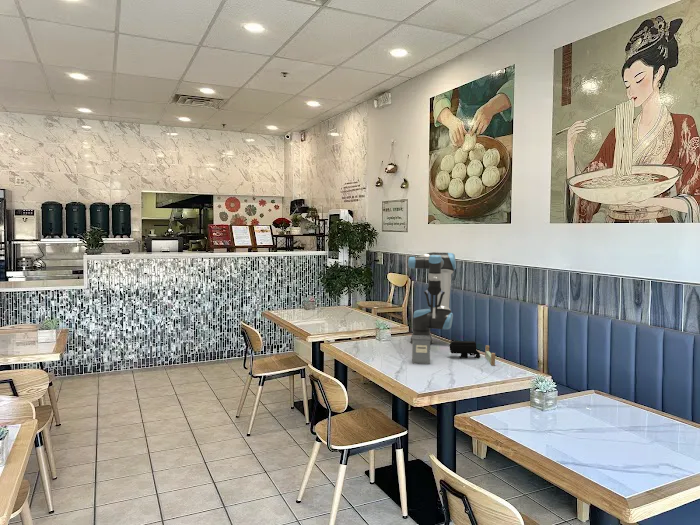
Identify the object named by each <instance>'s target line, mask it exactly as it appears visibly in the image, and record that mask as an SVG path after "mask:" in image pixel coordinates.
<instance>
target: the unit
mask: <svg viewBox="0 0 700 525" xmlns="http://www.w3.org/2000/svg"><path fill="white" fill-rule="evenodd" d="M411 336H412V340H413V341H412V343H411V344H412V349H411V351H412V353H411V360H412V364H413V365H414V364H415V365H416V364H417V365H420V364H421V365H430V363H431V344H430V341H431V338H430V336H425V335H412V334H411Z"/></svg>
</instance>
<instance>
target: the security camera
mask: <svg viewBox="0 0 700 525" xmlns="http://www.w3.org/2000/svg"><path fill="white" fill-rule="evenodd" d="M449 351H450V353H451V354H457V355H458V354H460V355H459V358H460V359H468V358H469V356H470V357H471V356H472V357H473V356H474V359H480V358H481V353H480V352H479V351H478V350H477V342H476V341H475V340H474V341H473V340H471V341H470V340H469V341H468V340H450V344H449Z"/></svg>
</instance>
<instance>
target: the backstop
mask: <svg viewBox="0 0 700 525" xmlns="http://www.w3.org/2000/svg"><path fill="white" fill-rule="evenodd" d="M484 348H485V350H484V351H485V352H484V357H485V359H486V360H487V362H488V364H490V366H493V367H494V366H496V352H490V345H485V347H484Z"/></svg>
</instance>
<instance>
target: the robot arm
mask: <svg viewBox="0 0 700 525" xmlns="http://www.w3.org/2000/svg"><path fill="white" fill-rule="evenodd" d="M407 261H408V262H407V266H408V268H409V269H414V270H415V269H417V270H420V269H421V270H422V269H423V270H428V281H427V282H428V286H427V289H426V290H424V291H423V293H424V295H425V298H426V303H427V307H429V308H424V309H423V308H422V309H417V310H415V311H414V312H413V317H412V318H413V319H412V322H413V324H412V325H413V326H412V328H413V329H412V334H411V337H410V343H411V344H412V341H413V340H412V335H425V336H430V338H431V341H430V345H432V344H433V338H432V334H431V329H432V330H433V329H436V330H446V331H447V330H450V329H451V328H452V324H453V320H454V314H453V312H452V310H451V309H450V296H451V283H452V282H451V280H452V274H453V273H454V270H456V269H457V262H456V255H455V254H454V253H453V252H436V251H435V252H427V253H423V254H421V255H420V256H410V257H408V260H407ZM429 294H430V299H429ZM434 296H435V297H434Z"/></svg>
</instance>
